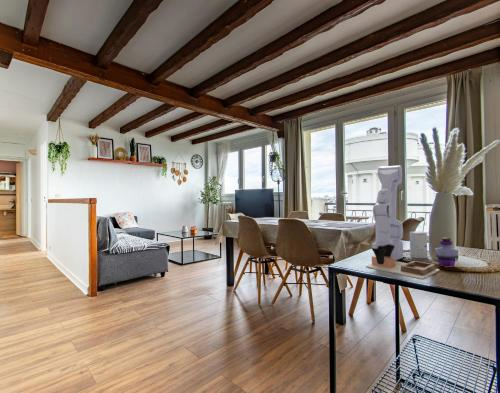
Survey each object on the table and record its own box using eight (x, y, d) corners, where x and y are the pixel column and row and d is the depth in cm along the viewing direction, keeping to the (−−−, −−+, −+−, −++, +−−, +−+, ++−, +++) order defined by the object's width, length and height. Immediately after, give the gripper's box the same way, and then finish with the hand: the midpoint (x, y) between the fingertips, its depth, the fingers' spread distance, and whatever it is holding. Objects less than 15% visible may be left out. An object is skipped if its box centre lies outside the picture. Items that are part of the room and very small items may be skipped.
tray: (414, 265, 116) (414, 260, 116) (435, 269, 110) (435, 264, 110) (400, 271, 109) (400, 266, 109) (422, 275, 103) (422, 270, 103)
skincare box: (416, 258, 129) (415, 233, 129) (409, 256, 133) (408, 231, 133) (428, 257, 130) (427, 232, 129) (421, 255, 134) (420, 230, 134)
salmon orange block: (377, 262, 122) (377, 254, 122) (395, 266, 116) (395, 258, 116) (371, 264, 120) (371, 256, 120) (390, 268, 113) (390, 259, 113)
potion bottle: (464, 269, 110) (463, 239, 110) (440, 268, 112) (439, 239, 112) (452, 263, 119) (452, 236, 119) (430, 263, 120) (430, 235, 120)
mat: (385, 260, 127) (385, 259, 127) (439, 270, 110) (439, 269, 110) (366, 267, 118) (366, 265, 118) (422, 279, 100) (422, 277, 100)
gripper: (383, 234, 110) (384, 267, 110) (400, 230, 119) (401, 261, 119) (366, 232, 116) (367, 264, 116) (384, 228, 124) (385, 258, 125)
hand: (383, 262), depth 118 cm, fingers closed on salmon orange block, 4 cm apart
